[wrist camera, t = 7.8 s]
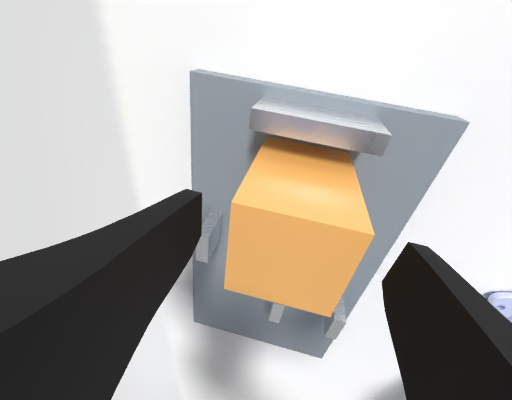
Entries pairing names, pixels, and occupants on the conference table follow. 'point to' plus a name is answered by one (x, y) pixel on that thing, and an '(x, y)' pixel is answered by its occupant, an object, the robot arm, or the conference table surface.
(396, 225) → the board
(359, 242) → the block
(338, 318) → the clips
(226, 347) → the conference table surface
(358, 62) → the conference table surface
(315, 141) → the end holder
